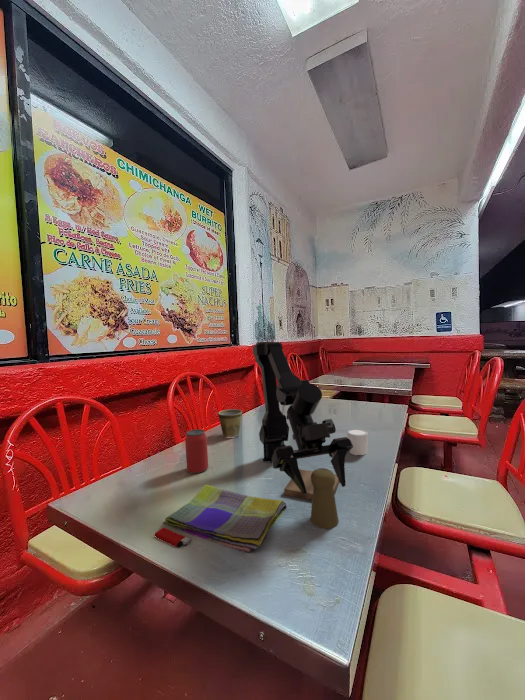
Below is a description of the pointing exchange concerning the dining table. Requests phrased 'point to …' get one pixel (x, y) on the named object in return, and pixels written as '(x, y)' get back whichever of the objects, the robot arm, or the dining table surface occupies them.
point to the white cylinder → (358, 441)
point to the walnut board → (306, 476)
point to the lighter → (172, 537)
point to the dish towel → (227, 518)
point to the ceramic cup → (230, 422)
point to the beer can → (196, 451)
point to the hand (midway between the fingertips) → (325, 489)
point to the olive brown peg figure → (323, 499)
